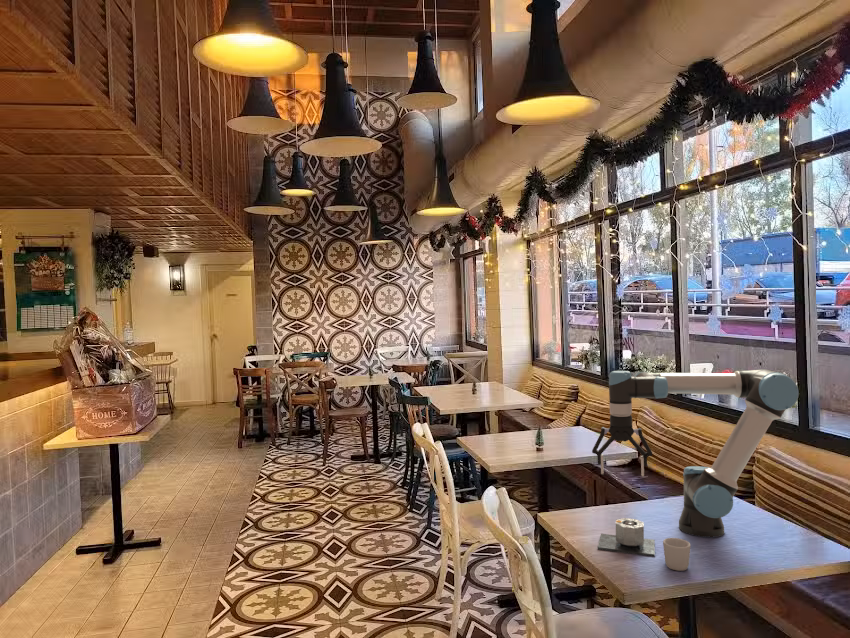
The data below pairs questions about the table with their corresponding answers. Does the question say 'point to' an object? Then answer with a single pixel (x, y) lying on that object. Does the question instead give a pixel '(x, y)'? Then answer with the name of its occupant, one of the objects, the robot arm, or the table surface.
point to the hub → (629, 532)
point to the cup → (676, 553)
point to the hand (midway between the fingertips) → (622, 474)
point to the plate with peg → (611, 544)
